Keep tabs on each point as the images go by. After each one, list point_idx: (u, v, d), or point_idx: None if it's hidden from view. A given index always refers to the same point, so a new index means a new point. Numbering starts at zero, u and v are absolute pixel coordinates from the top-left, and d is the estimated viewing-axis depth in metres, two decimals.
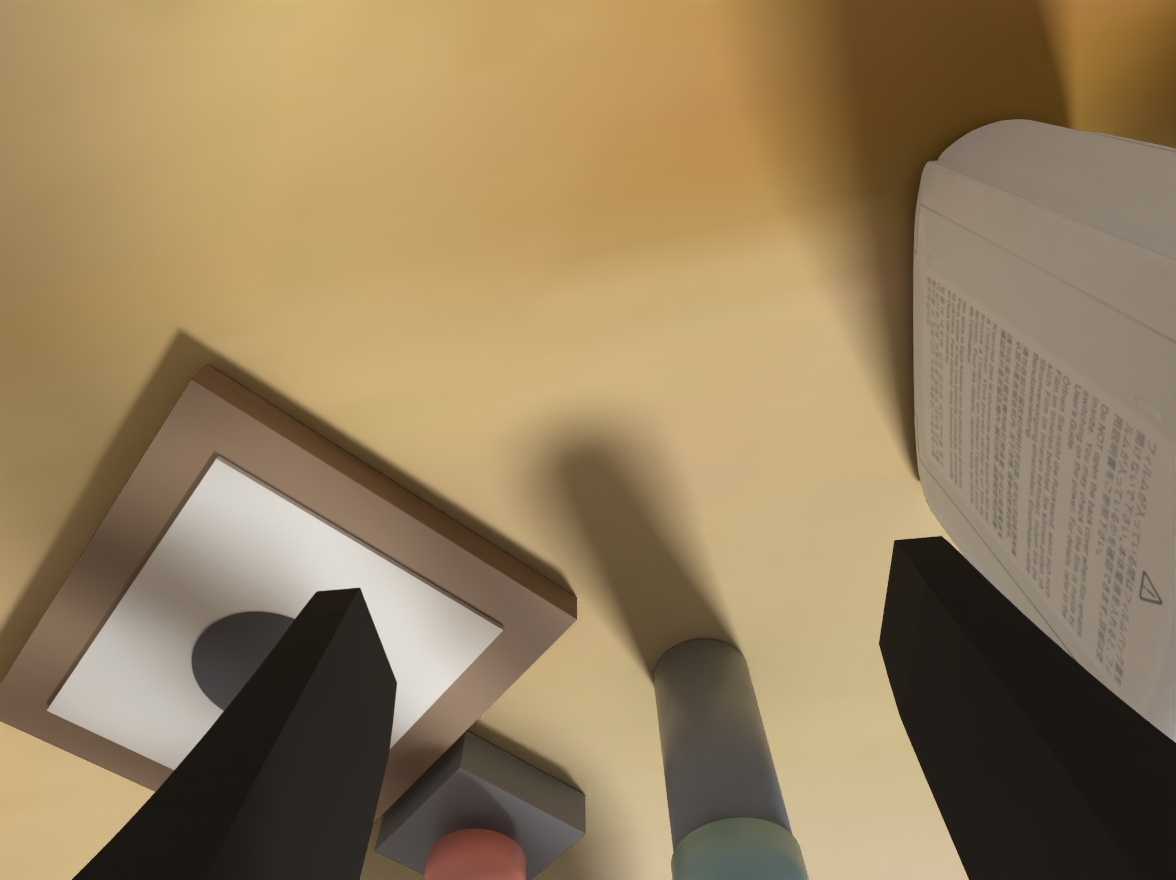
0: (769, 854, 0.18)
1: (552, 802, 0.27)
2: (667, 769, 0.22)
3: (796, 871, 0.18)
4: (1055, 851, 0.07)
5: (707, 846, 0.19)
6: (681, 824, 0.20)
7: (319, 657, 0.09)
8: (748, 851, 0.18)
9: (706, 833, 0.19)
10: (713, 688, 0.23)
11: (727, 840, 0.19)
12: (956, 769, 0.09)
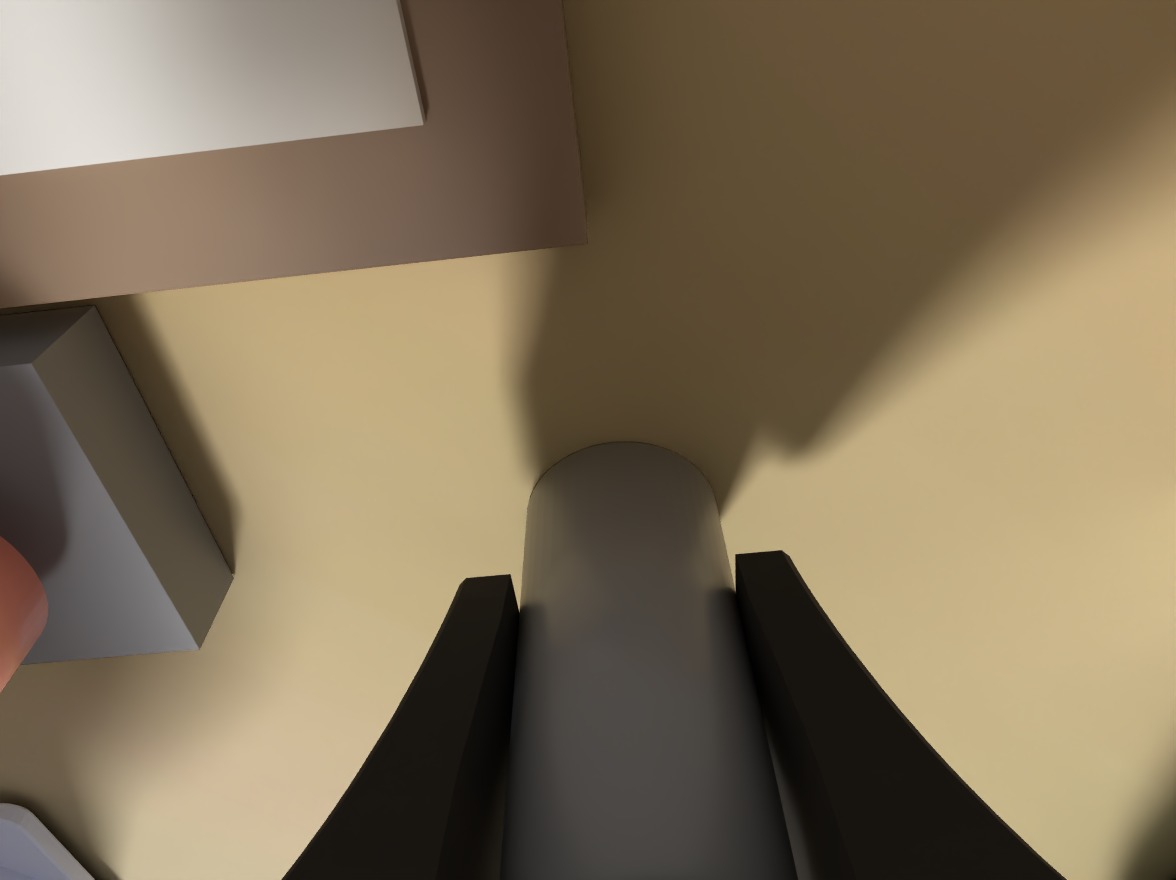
0: None
1: (176, 559, 0.12)
2: (569, 668, 0.09)
3: None
4: (827, 867, 0.07)
5: None
6: (603, 836, 0.07)
7: (491, 643, 0.09)
8: None
9: None
10: (711, 561, 0.10)
11: None
12: (778, 783, 0.09)
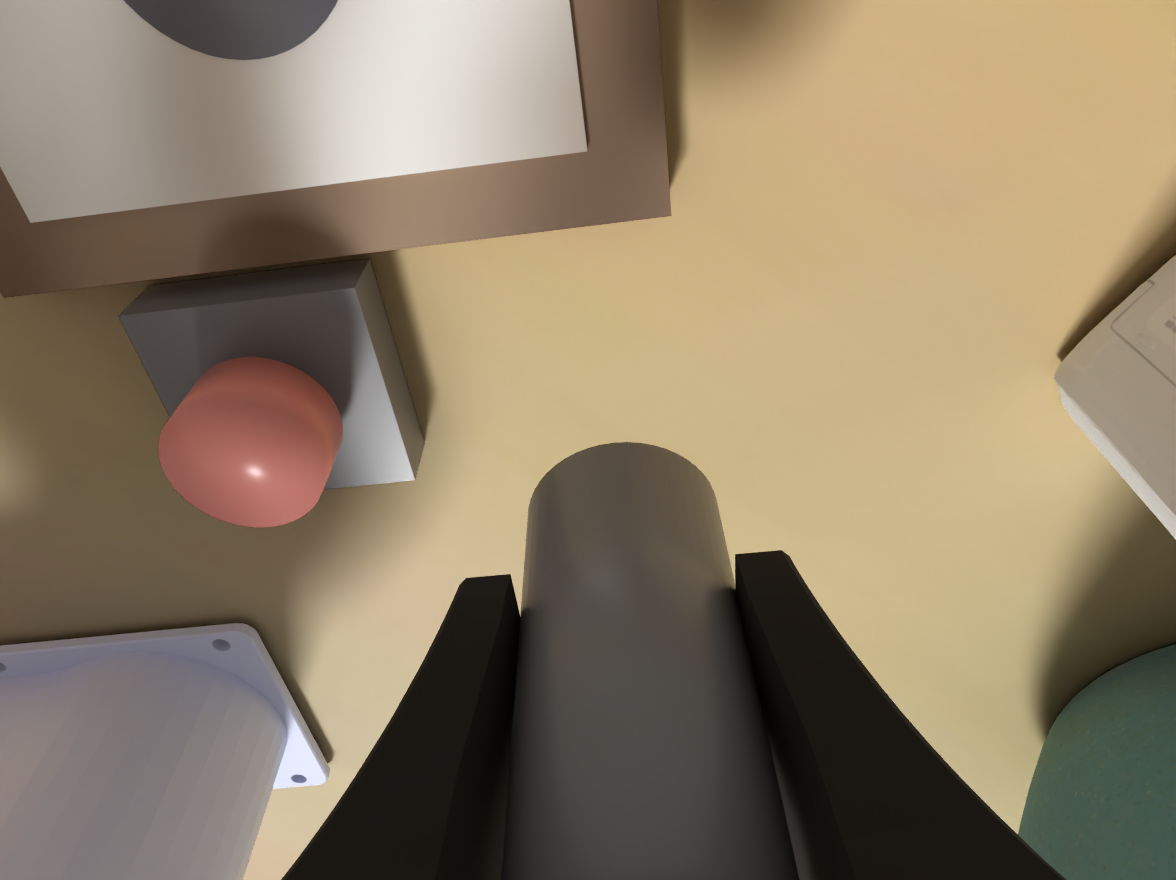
0: None
1: (403, 420, 0.19)
2: (570, 668, 0.09)
3: None
4: (827, 867, 0.07)
5: None
6: (605, 835, 0.07)
7: (491, 643, 0.09)
8: None
9: None
10: (712, 563, 0.10)
11: None
12: (778, 783, 0.09)
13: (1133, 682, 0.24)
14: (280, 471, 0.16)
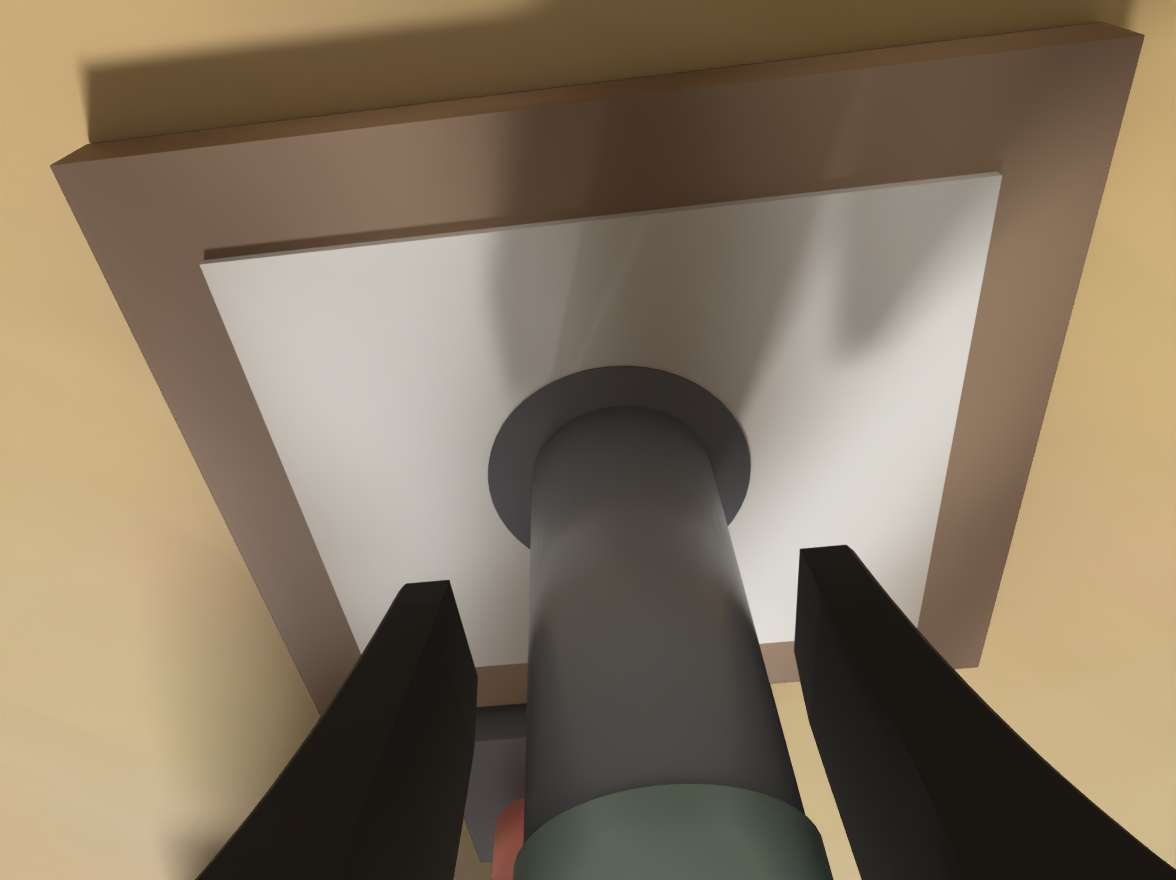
0: None
1: None
2: (583, 606, 0.10)
3: None
4: (919, 860, 0.07)
5: (723, 843, 0.07)
6: (623, 745, 0.08)
7: (421, 648, 0.09)
8: None
9: (719, 808, 0.07)
10: (709, 512, 0.11)
11: (773, 853, 0.07)
12: (851, 777, 0.09)
13: None
14: None
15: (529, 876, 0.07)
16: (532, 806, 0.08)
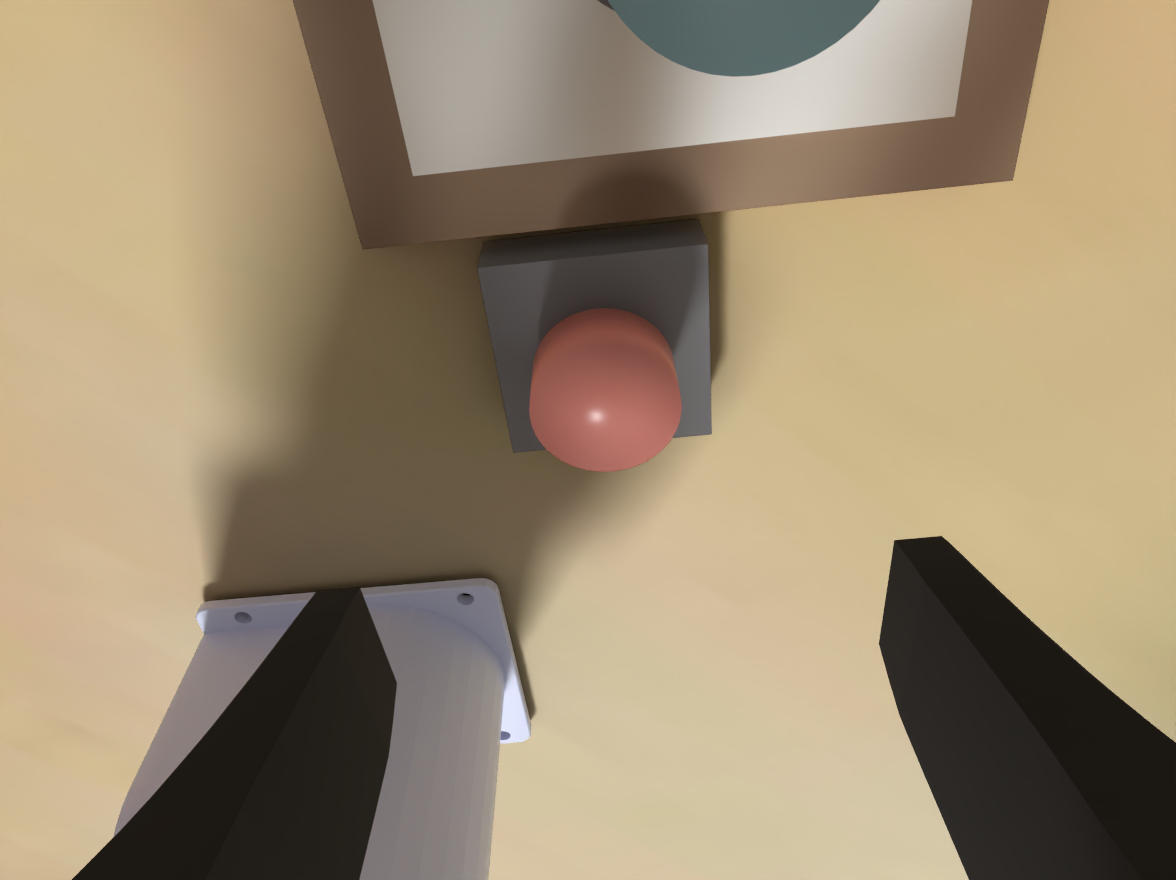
0: None
1: None
2: None
3: None
4: (1055, 851, 0.07)
5: None
6: None
7: (319, 658, 0.09)
8: None
9: None
10: None
11: None
12: (957, 769, 0.09)
13: None
14: (639, 416, 0.17)
15: None
16: None
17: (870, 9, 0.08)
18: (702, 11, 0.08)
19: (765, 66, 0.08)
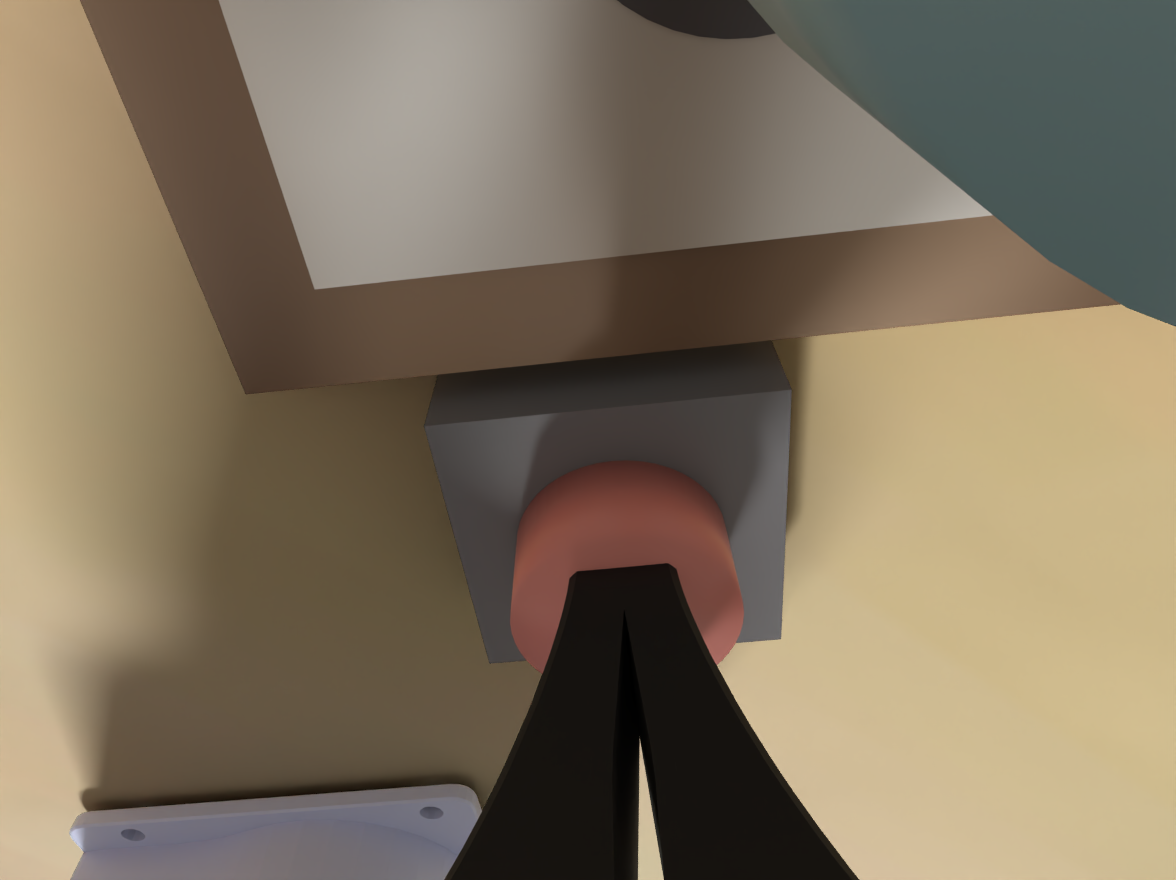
0: None
1: None
2: None
3: None
4: None
5: None
6: None
7: (620, 633, 0.09)
8: None
9: None
10: None
11: None
12: (652, 792, 0.09)
13: None
14: None
15: None
16: None
17: None
18: None
19: None
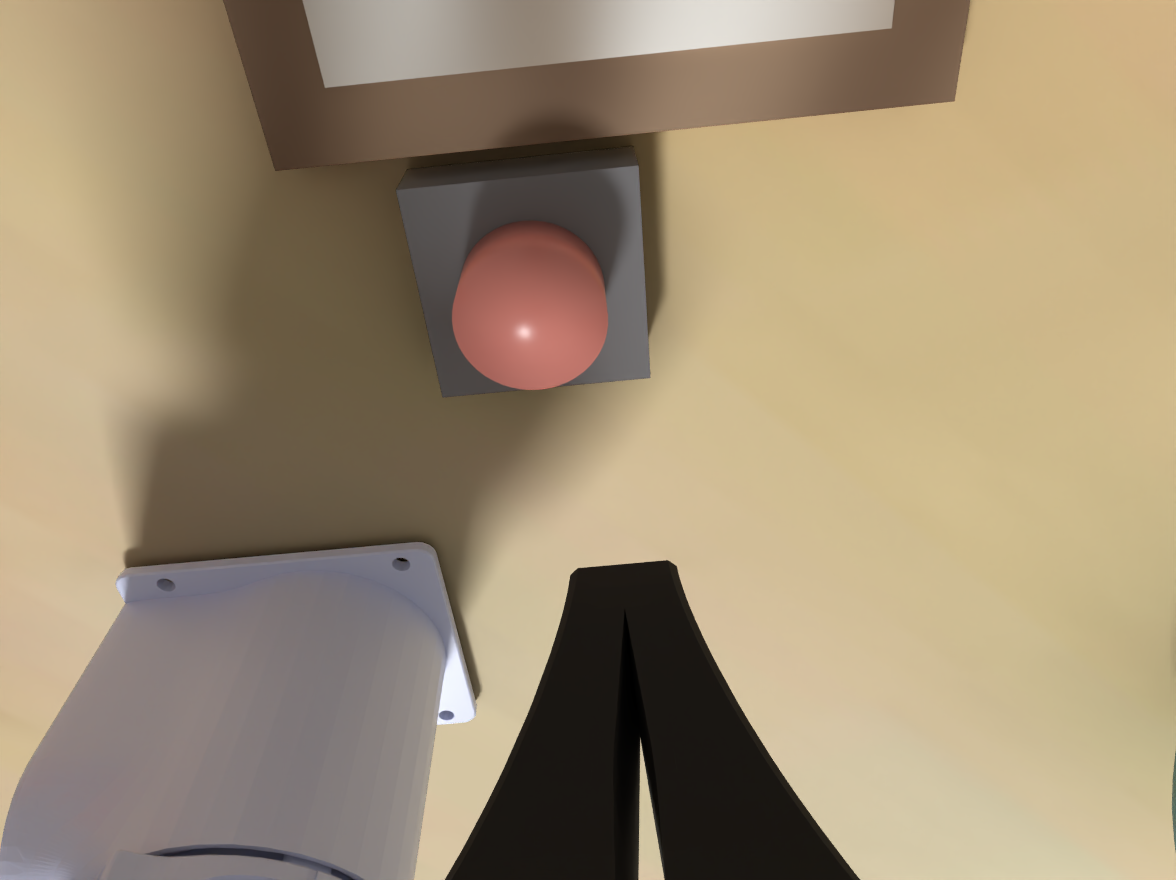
0: None
1: None
2: None
3: None
4: None
5: None
6: None
7: (620, 632, 0.09)
8: None
9: None
10: None
11: None
12: (653, 792, 0.09)
13: None
14: (565, 328, 0.17)
15: None
16: None
17: None
18: None
19: None
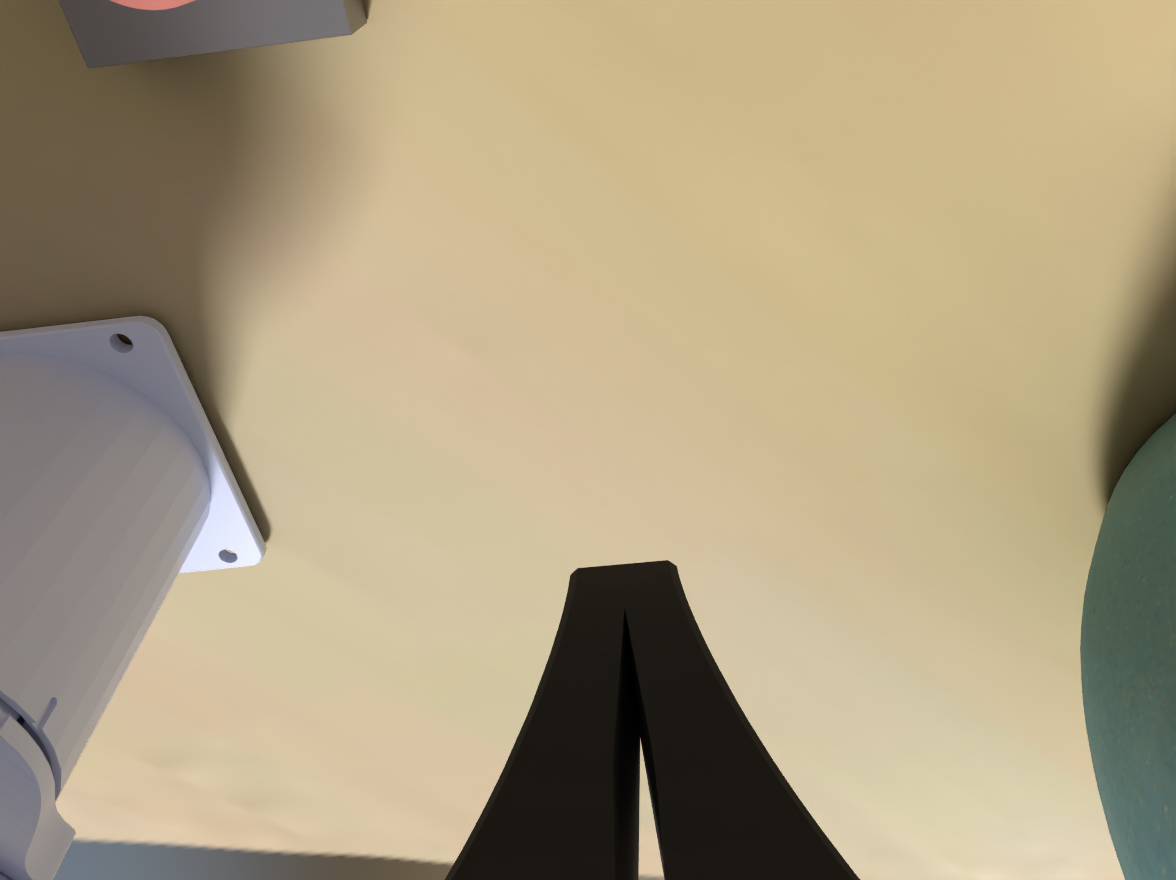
0: None
1: None
2: None
3: None
4: None
5: None
6: None
7: (620, 633, 0.09)
8: None
9: None
10: None
11: None
12: (652, 792, 0.09)
13: None
14: None
15: None
16: None
17: None
18: None
19: None
